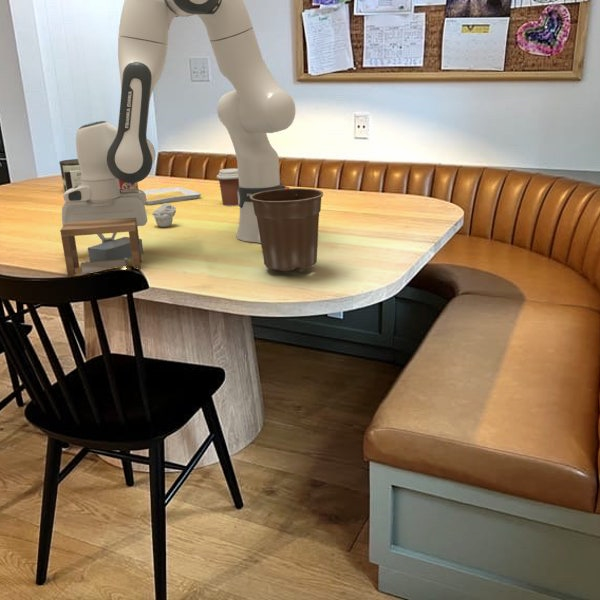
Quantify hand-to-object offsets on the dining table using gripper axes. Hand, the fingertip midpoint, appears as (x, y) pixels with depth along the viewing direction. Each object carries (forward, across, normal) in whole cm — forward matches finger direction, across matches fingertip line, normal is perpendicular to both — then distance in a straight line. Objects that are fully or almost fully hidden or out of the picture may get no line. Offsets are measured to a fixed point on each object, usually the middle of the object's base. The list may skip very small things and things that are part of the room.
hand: (109, 245), depth 159 cm
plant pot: (+2, -42, +23) cm, 48 cm away
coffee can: (+2, +20, -92) cm, 94 cm away
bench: (+2, 0, +13) cm, 13 cm away
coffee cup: (+2, -36, -54) cm, 65 cm away
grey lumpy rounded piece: (+2, -14, -27) cm, 30 cm away
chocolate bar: (+2, +8, -27) cm, 28 cm away
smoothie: (+2, -2, -47) cm, 47 cm away
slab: (+2, -2, +5) cm, 6 cm away
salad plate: (+3, -12, -72) cm, 73 cm away
